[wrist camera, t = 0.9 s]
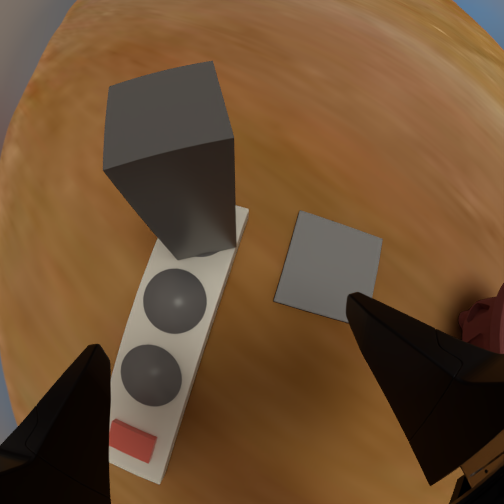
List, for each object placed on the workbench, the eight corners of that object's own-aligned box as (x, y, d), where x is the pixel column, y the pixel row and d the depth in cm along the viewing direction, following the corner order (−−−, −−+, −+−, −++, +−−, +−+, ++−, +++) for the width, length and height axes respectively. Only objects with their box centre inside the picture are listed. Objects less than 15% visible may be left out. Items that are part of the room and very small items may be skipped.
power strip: (165, 474, 18) (157, 488, 15) (104, 447, 18) (90, 457, 16) (248, 218, 24) (249, 205, 22) (183, 199, 25) (176, 184, 22)
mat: (363, 326, 22) (364, 326, 22) (273, 301, 23) (274, 300, 22) (380, 240, 24) (382, 239, 24) (299, 212, 25) (300, 210, 24)
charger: (236, 247, 21) (234, 138, 9) (177, 260, 21) (102, 170, 8) (223, 192, 22) (212, 58, 10) (168, 204, 22) (109, 84, 9)
